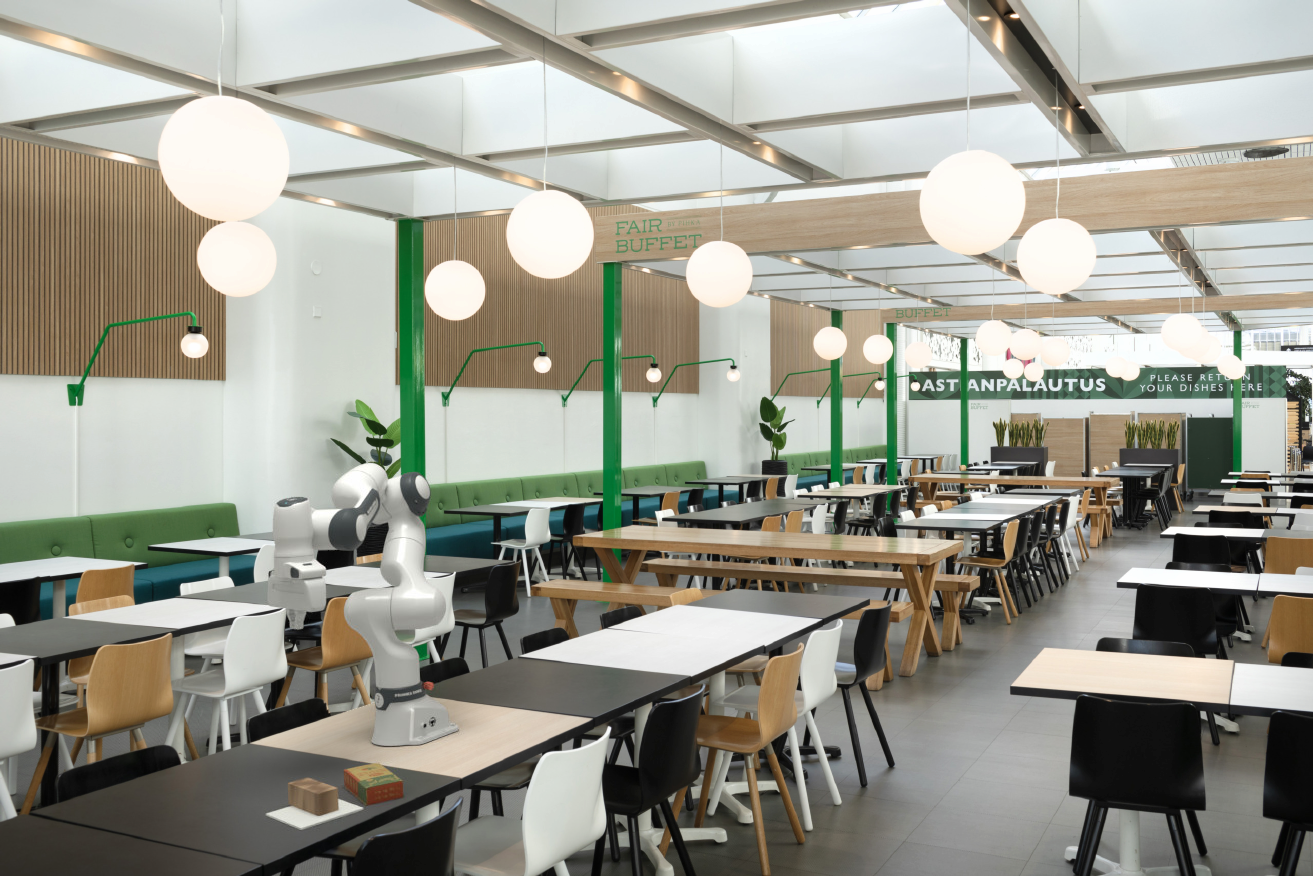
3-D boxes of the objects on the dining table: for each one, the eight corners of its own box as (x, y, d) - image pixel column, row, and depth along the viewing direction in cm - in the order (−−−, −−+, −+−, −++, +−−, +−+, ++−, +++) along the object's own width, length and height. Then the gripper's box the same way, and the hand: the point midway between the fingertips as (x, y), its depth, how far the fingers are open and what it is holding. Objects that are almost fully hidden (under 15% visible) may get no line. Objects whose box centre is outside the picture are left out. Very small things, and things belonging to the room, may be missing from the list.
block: (306, 777, 221) (337, 788, 213) (307, 798, 221) (338, 810, 213) (287, 783, 218) (318, 794, 210) (288, 804, 218) (318, 816, 210)
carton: (380, 780, 234) (379, 761, 234) (404, 799, 221) (404, 779, 221) (343, 788, 230) (342, 768, 230) (366, 807, 216) (365, 786, 216)
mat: (327, 796, 223) (327, 795, 223) (363, 810, 214) (363, 808, 214) (265, 815, 213) (265, 813, 213) (301, 830, 203) (301, 828, 203)
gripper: (259, 567, 243) (261, 626, 243) (304, 572, 229) (307, 634, 229) (284, 564, 247) (286, 622, 247) (330, 568, 234) (332, 630, 234)
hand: (296, 628), depth 238 cm, fingers closed
